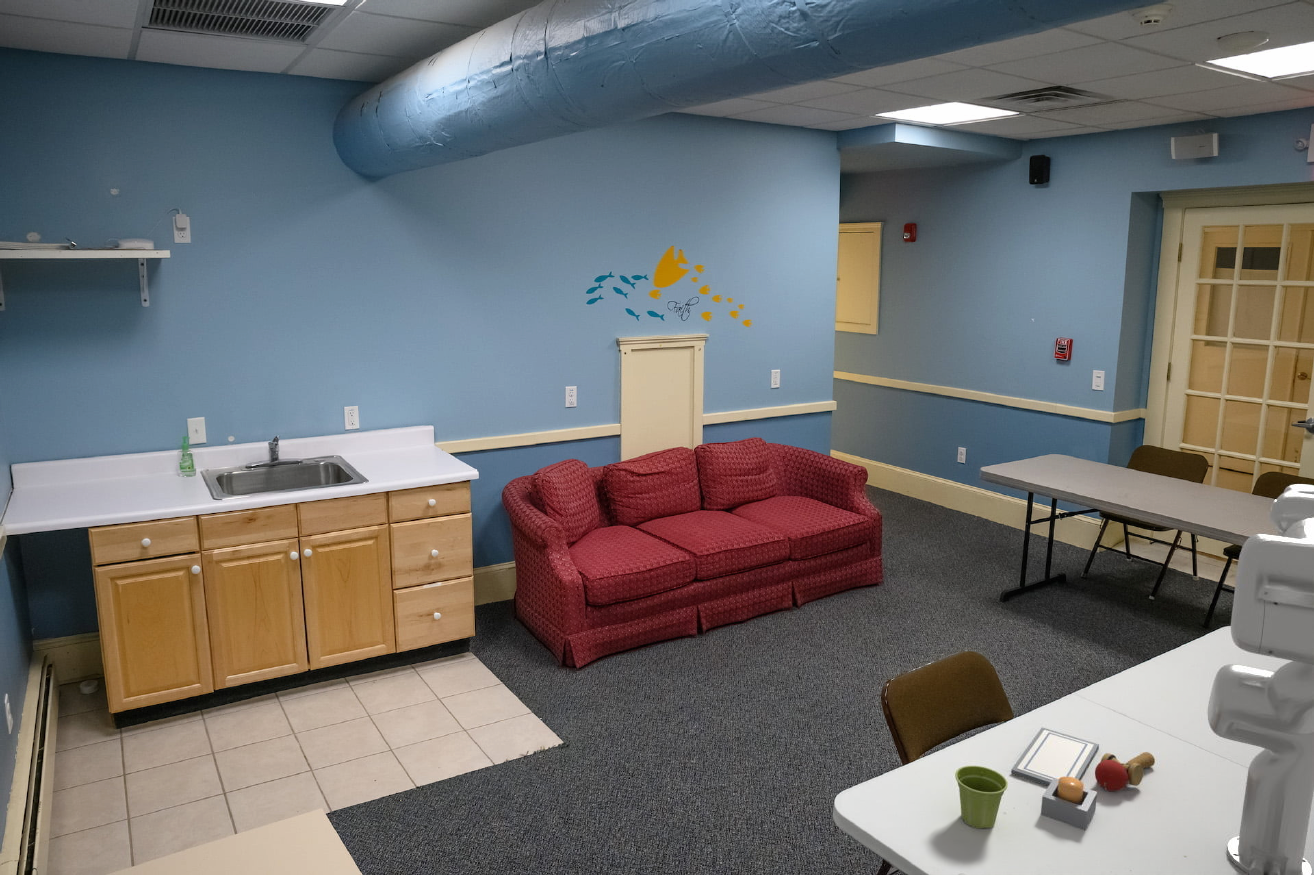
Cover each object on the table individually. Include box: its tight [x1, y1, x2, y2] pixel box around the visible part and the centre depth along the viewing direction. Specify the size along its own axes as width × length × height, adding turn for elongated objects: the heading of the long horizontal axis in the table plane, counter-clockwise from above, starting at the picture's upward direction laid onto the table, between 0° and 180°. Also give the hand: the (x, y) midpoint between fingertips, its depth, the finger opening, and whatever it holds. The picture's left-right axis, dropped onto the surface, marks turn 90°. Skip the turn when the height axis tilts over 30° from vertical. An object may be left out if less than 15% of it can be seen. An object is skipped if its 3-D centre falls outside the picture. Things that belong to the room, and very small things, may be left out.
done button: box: [1057, 776, 1085, 804], centre depth 174 cm, size 4×4×3 cm
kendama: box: [1094, 751, 1156, 792], centre depth 186 cm, size 8×6×18 cm
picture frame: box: [1010, 727, 1100, 787], centre depth 193 cm, size 22×12×1 cm, turn 142°
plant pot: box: [954, 765, 1009, 829], centre depth 172 cm, size 9×9×9 cm
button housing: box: [1040, 778, 1098, 831], centre depth 175 cm, size 8×8×4 cm
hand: (1287, 635), depth 173 cm, fingers open, 9 cm apart
